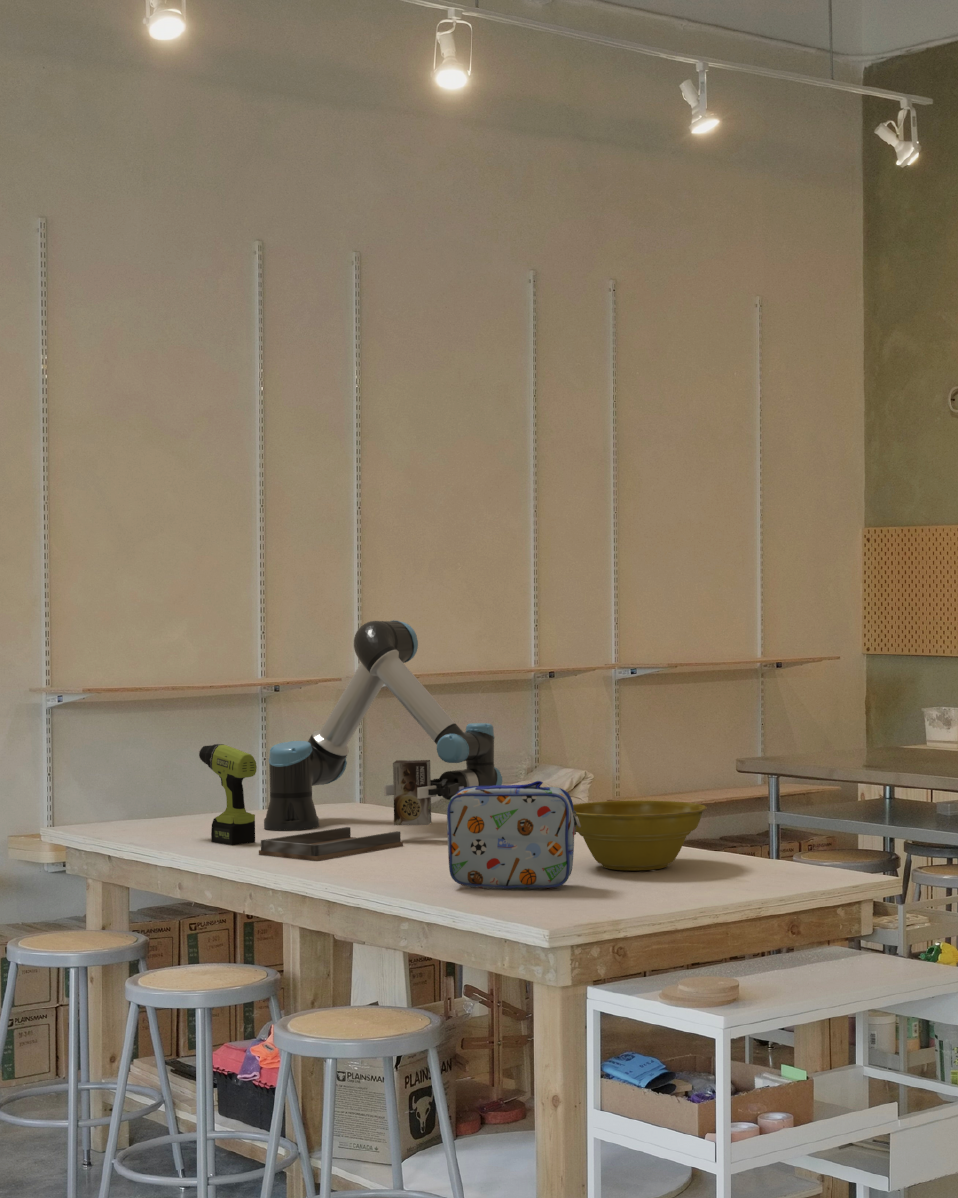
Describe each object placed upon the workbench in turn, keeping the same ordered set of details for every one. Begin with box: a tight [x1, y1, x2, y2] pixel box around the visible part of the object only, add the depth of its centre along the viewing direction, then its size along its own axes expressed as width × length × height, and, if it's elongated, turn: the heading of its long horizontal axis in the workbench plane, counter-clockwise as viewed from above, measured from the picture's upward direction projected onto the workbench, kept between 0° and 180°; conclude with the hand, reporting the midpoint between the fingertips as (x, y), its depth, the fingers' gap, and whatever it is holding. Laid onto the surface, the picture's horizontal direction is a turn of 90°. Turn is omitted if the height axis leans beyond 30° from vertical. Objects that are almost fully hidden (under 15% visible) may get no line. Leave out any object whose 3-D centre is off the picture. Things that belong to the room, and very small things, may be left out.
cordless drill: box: [198, 743, 258, 846], centre depth 397 cm, size 23×7×25 cm, turn 42°
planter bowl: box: [573, 799, 708, 872], centre depth 339 cm, size 32×32×13 cm
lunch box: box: [446, 780, 581, 890], centre depth 314 cm, size 28×10×22 cm, turn 81°
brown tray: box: [258, 826, 404, 862], centre depth 375 cm, size 20×30×4 cm, turn 141°
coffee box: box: [392, 759, 432, 826], centre depth 389 cm, size 9×6×16 cm
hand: (401, 791), depth 386 cm, fingers closed on coffee box, 11 cm apart
